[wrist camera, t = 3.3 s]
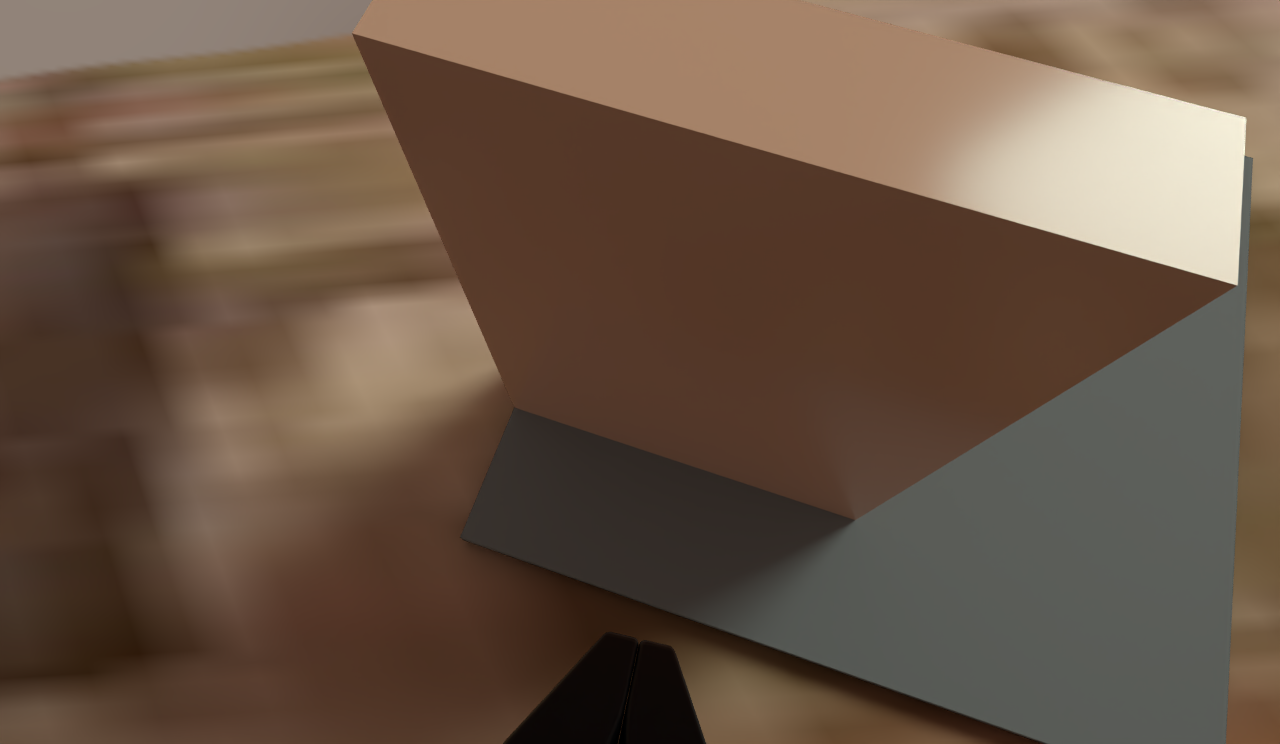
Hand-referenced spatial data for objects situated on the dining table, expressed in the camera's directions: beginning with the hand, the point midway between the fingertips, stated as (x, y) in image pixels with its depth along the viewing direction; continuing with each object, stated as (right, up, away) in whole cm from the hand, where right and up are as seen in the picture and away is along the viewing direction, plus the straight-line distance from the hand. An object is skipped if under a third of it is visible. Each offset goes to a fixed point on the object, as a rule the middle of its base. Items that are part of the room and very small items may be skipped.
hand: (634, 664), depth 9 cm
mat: (+6, +4, +9) cm, 12 cm away
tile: (+1, +2, +8) cm, 8 cm away
